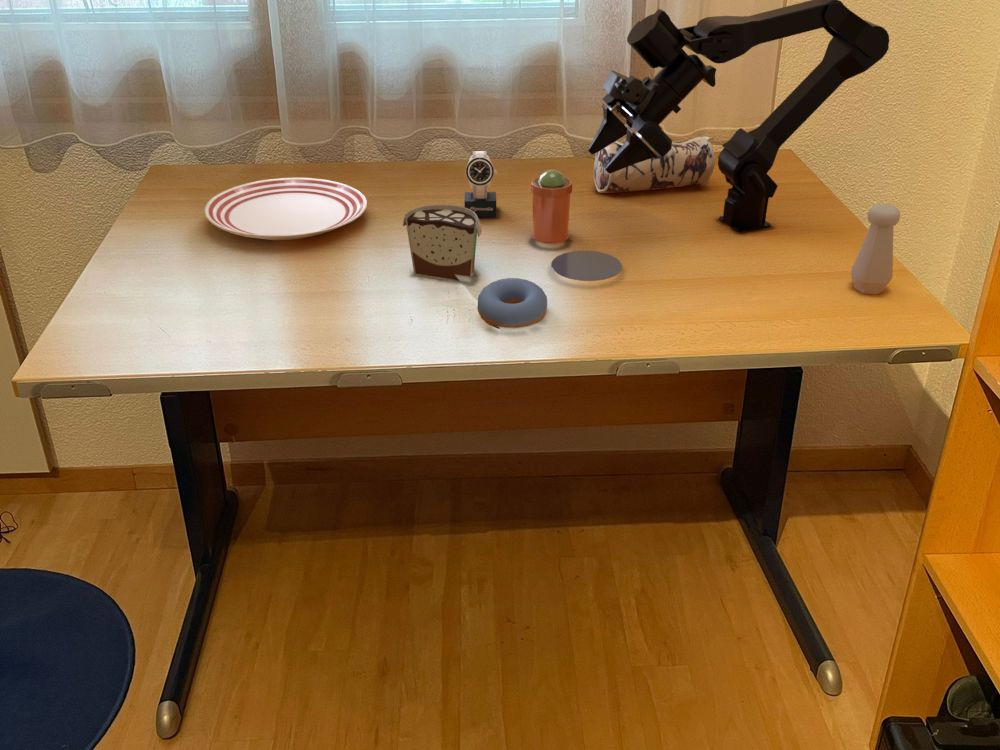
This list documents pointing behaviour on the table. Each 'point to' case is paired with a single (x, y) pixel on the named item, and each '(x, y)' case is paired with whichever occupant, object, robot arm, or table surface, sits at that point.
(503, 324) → the doughnut
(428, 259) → the food container
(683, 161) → the pencil case
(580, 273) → the saucer
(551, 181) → the plant pot
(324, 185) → the dinner plate
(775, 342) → the table surface
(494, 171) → the watch
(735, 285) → the table surface
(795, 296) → the table surface
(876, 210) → the salt shaker
